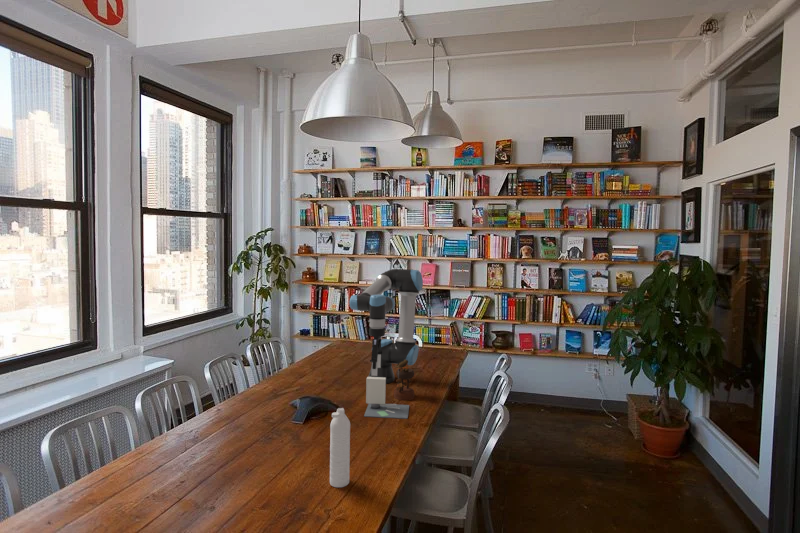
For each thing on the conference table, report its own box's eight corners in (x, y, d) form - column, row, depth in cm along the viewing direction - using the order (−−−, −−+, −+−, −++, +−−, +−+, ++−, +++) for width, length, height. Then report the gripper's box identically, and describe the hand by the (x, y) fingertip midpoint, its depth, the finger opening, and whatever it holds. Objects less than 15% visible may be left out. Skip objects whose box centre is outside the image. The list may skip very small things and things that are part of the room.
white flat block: (367, 404, 217) (367, 376, 216) (396, 406, 216) (397, 377, 215) (365, 407, 212) (366, 379, 211) (395, 409, 211) (396, 380, 210)
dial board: (368, 404, 219) (368, 403, 219) (409, 405, 218) (409, 404, 218) (363, 416, 203) (364, 415, 203) (407, 418, 202) (407, 417, 202)
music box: (408, 403, 222) (405, 363, 221) (388, 400, 227) (386, 361, 227) (421, 394, 235) (419, 356, 235) (402, 392, 240) (400, 355, 240)
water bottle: (334, 476, 152) (335, 404, 150) (352, 479, 150) (353, 406, 149) (323, 489, 143) (324, 413, 142) (342, 493, 142) (343, 416, 140)
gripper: (372, 322, 225) (371, 364, 225) (365, 332, 200) (364, 378, 201) (387, 323, 224) (386, 364, 225) (382, 332, 199) (381, 379, 200)
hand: (376, 371), depth 213 cm, fingers open, 13 cm apart
